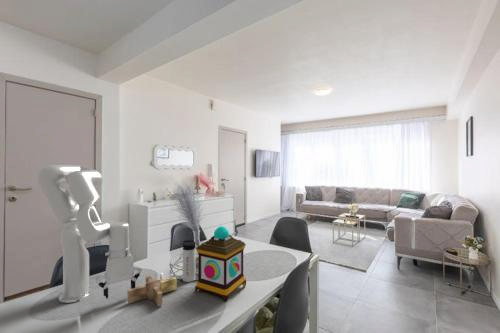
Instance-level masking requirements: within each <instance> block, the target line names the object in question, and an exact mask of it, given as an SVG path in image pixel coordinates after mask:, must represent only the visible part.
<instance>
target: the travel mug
mask: <svg viewBox="0 0 500 333" xmlns="http://www.w3.org/2000/svg"><path fill="white" fill-rule="evenodd" d="M196 248H197V247H196V241H194V240H190V239H189V240H188V239H185V240H183V241H182V281H183V282H186V283H189V282H193V281H195V280H196V273H197V272H196V271H197V270H196V267H197V266H196V261H197V260H196V255H197V254H196V253H197V250H196Z"/></svg>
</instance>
